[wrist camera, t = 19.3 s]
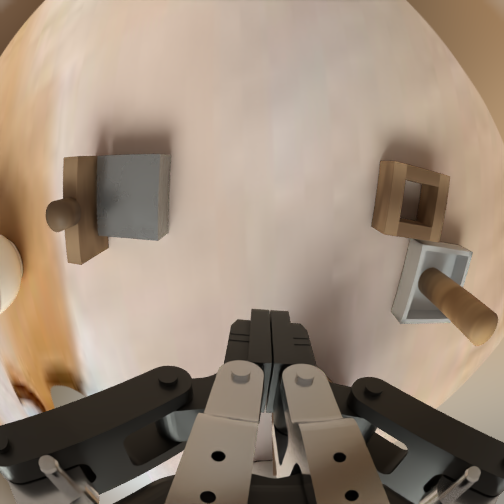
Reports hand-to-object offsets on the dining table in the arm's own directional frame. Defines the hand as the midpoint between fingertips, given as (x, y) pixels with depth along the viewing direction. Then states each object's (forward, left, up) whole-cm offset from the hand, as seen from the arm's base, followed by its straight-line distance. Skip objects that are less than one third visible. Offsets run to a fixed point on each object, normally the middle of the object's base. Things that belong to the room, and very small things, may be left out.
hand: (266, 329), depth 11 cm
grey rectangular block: (+3, +12, -14) cm, 19 cm away
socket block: (+5, -13, -14) cm, 19 cm away
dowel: (-2, -18, -13) cm, 22 cm away
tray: (-2, -18, -14) cm, 22 cm away
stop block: (+2, +16, -14) cm, 21 cm away
